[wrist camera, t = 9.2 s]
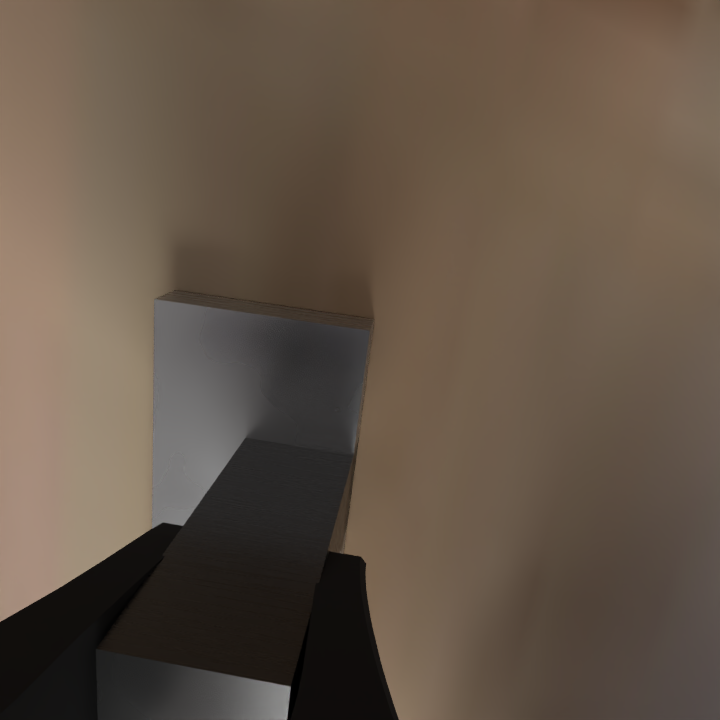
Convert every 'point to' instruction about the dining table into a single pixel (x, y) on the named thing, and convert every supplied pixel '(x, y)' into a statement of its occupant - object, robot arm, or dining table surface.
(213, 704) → the grey block
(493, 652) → the dining table surface
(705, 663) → the dining table surface
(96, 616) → the robot arm
